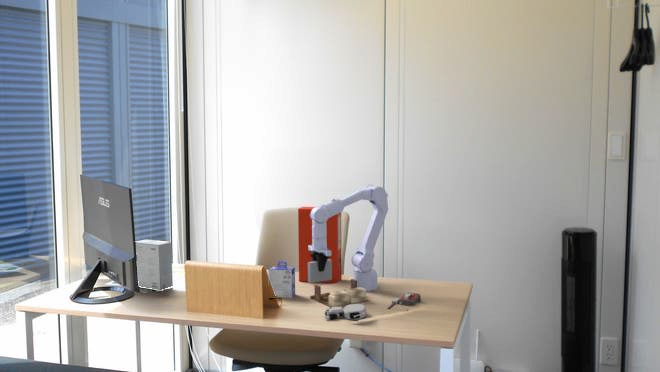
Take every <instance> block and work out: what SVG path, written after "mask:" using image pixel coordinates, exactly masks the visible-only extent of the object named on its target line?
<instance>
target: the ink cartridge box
mask: <svg viewBox="0 0 660 372" xmlns="http://www.w3.org/2000/svg"><path fill="white" fill-rule="evenodd" d="M287 263H288V261H281V260H280V261H278V262H277V266H271V267H270V268H268V281H269V280H270V283H271V285H272V287H273V290H274V292H275V295H276V296H277V297H276V298H288V299H292V298H294V297H295V296H296V268H295V267H293V266H291V267H290V266H287V265H288V264H287ZM282 264H283V265H282Z"/></svg>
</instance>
